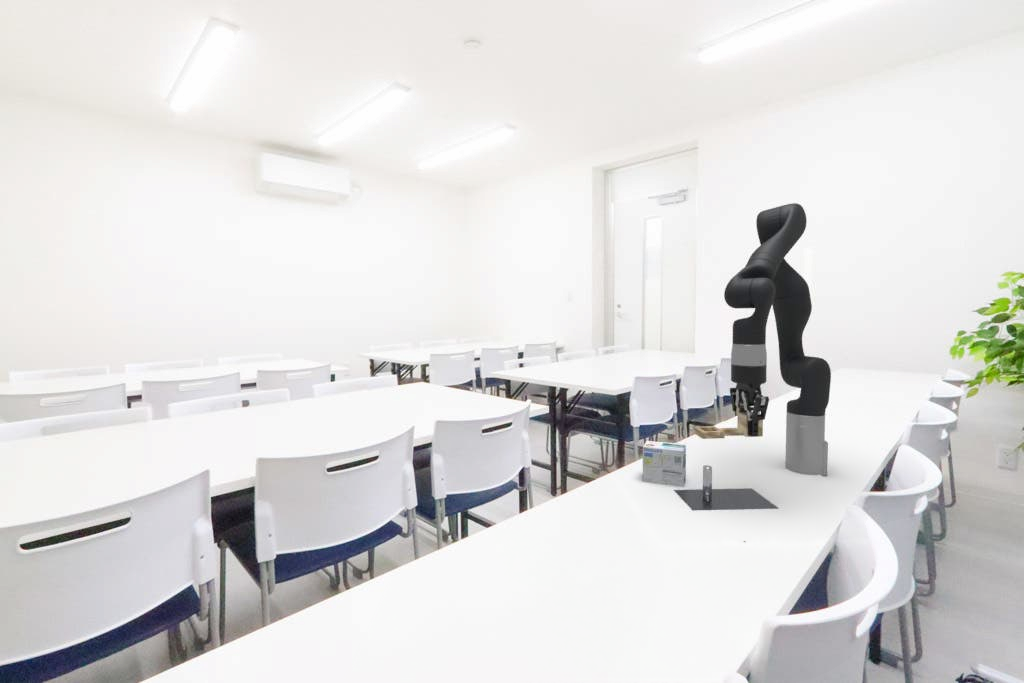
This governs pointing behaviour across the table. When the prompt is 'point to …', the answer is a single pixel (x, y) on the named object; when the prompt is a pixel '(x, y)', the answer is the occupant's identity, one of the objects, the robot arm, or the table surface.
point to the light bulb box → (664, 463)
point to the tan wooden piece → (728, 429)
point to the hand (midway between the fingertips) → (747, 433)
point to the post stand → (722, 497)
